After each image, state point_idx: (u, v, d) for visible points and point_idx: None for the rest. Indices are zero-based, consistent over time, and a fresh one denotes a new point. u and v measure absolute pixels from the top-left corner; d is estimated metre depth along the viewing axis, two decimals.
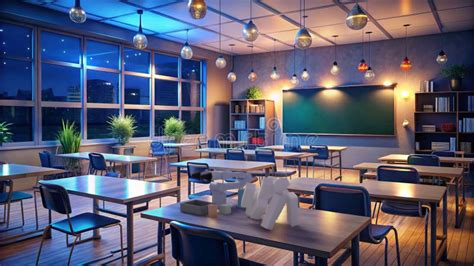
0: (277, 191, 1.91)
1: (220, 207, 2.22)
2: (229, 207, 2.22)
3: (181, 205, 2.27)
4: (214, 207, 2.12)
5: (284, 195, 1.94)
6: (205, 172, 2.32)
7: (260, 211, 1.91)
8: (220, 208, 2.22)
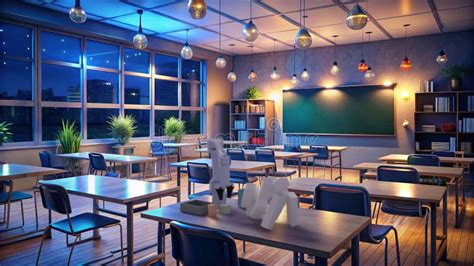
0: (277, 191, 1.91)
1: (220, 207, 2.22)
2: (229, 207, 2.22)
3: (181, 205, 2.27)
4: (214, 207, 2.12)
5: (284, 195, 1.94)
6: (227, 185, 2.21)
7: (260, 211, 1.91)
8: (220, 208, 2.22)
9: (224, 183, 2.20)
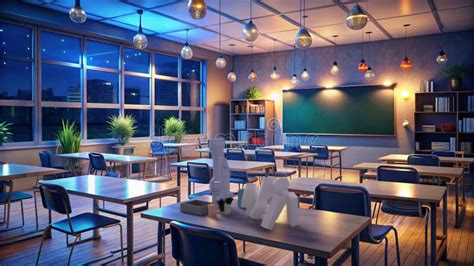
0: (277, 191, 1.91)
1: None
2: (229, 207, 2.22)
3: (181, 205, 2.27)
4: (214, 207, 2.12)
5: (284, 195, 1.94)
6: None
7: (260, 211, 1.91)
8: None
9: (224, 195, 2.20)
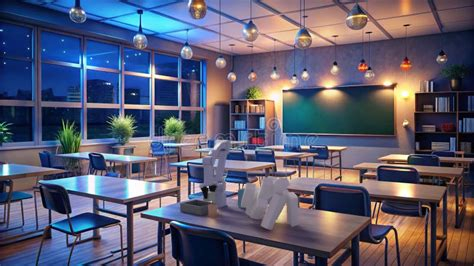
0: (277, 191, 1.91)
1: None
2: (213, 194, 2.25)
3: (181, 205, 2.27)
4: (214, 207, 2.12)
5: (284, 195, 1.94)
6: (210, 184, 2.24)
7: (260, 211, 1.91)
8: None
9: (208, 182, 2.23)
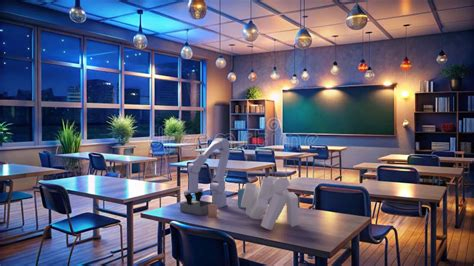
0: (277, 191, 1.91)
1: None
2: (198, 204, 2.29)
3: (181, 205, 2.27)
4: (214, 207, 2.12)
5: (284, 195, 1.94)
6: (195, 191, 2.28)
7: (260, 211, 1.91)
8: None
9: (192, 189, 2.27)
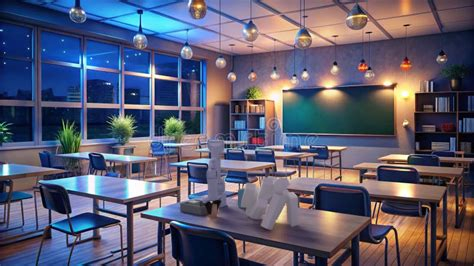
0: (276, 191, 1.91)
1: (189, 204, 2.28)
2: (198, 204, 2.29)
3: (181, 205, 2.27)
4: (214, 207, 2.12)
5: (284, 195, 1.94)
6: (214, 199, 2.12)
7: (260, 211, 1.91)
8: (189, 204, 2.28)
9: (211, 197, 2.11)
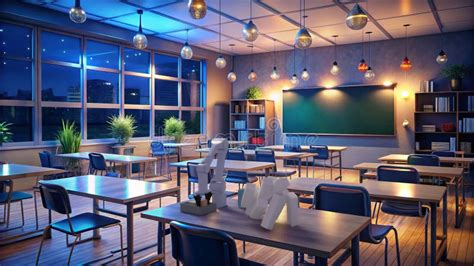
0: (277, 191, 1.91)
1: (189, 204, 2.28)
2: None
3: (181, 205, 2.27)
4: (204, 202, 2.22)
5: (284, 195, 1.94)
6: (204, 192, 2.23)
7: (260, 211, 1.91)
8: (189, 204, 2.28)
9: (202, 190, 2.22)
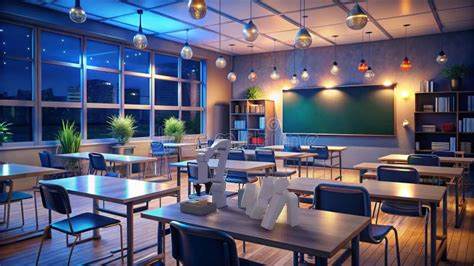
0: (277, 191, 1.91)
1: (189, 204, 2.28)
2: (198, 204, 2.29)
3: (181, 205, 2.27)
4: (204, 202, 2.22)
5: (284, 195, 1.94)
6: (204, 181, 2.22)
7: (260, 211, 1.91)
8: (189, 204, 2.28)
9: (202, 179, 2.21)
